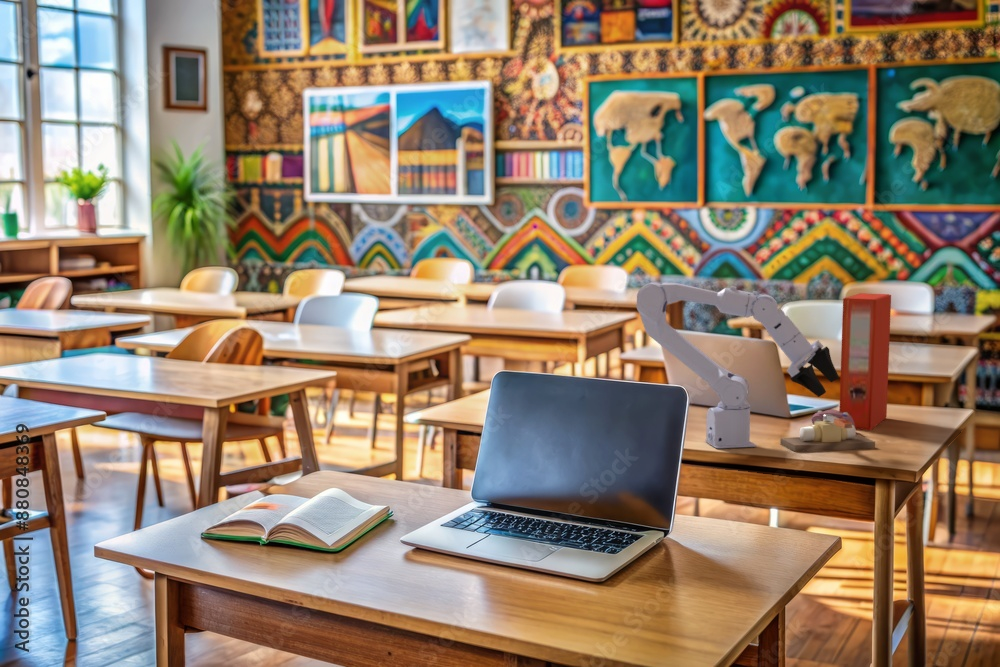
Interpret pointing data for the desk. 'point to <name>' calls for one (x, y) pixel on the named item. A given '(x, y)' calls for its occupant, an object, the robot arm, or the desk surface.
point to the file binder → (865, 358)
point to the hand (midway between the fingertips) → (828, 387)
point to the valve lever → (837, 421)
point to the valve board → (827, 444)
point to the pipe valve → (826, 432)
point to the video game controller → (835, 413)
